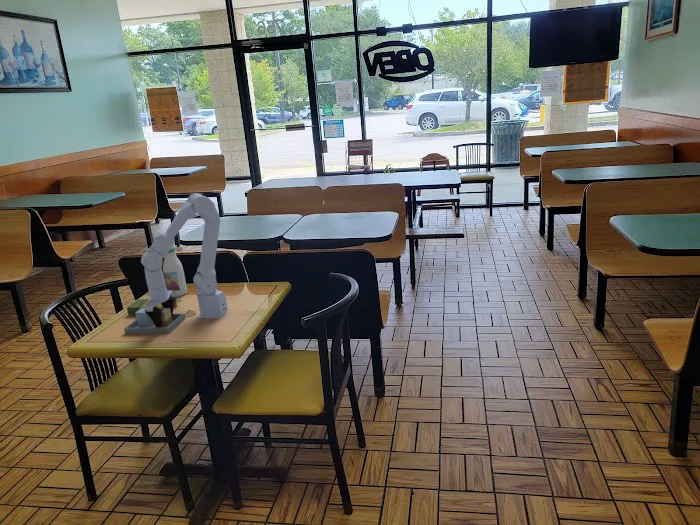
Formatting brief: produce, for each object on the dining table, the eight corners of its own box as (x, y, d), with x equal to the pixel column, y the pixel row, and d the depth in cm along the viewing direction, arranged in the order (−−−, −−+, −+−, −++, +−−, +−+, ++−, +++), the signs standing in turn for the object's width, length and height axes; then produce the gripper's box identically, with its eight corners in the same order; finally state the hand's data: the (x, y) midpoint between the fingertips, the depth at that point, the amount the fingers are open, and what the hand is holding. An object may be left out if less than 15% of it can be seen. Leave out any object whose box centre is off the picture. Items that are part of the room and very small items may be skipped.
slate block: (155, 323, 186) (151, 308, 184) (149, 328, 182) (145, 312, 180) (144, 323, 186) (141, 308, 185) (138, 328, 183) (135, 312, 181)
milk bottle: (179, 289, 220) (170, 244, 214) (191, 292, 215) (182, 246, 209) (164, 296, 214) (154, 249, 208) (175, 298, 209) (166, 251, 203)
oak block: (173, 323, 184) (169, 307, 183) (167, 328, 181) (164, 312, 179) (162, 323, 185) (159, 307, 183) (157, 328, 181) (153, 312, 180)
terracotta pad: (180, 335, 175) (180, 334, 175) (170, 345, 169) (169, 343, 169) (161, 335, 177) (161, 334, 176) (150, 345, 170) (150, 343, 170)
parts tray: (185, 319, 188) (184, 313, 187) (169, 335, 176) (167, 328, 176) (144, 319, 191) (143, 313, 190) (125, 335, 179) (123, 328, 179)
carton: (166, 317, 193) (164, 306, 191) (128, 317, 196) (125, 307, 195) (177, 308, 200) (175, 297, 199) (140, 308, 204) (138, 298, 202)
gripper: (156, 278, 186) (164, 313, 190) (134, 294, 172) (142, 331, 176) (175, 278, 185) (182, 313, 189) (153, 293, 171) (161, 331, 175)
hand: (164, 322), depth 183 cm, fingers open, 7 cm apart
